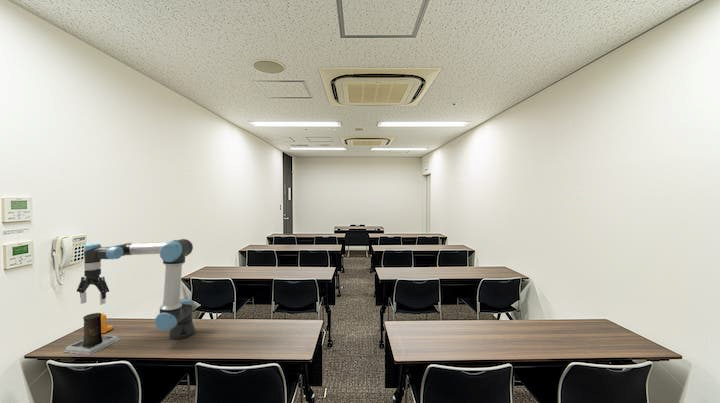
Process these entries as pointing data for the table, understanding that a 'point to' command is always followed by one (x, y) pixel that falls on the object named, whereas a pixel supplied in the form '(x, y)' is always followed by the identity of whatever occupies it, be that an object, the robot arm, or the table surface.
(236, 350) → the table surface
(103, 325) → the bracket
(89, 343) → the container
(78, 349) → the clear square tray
